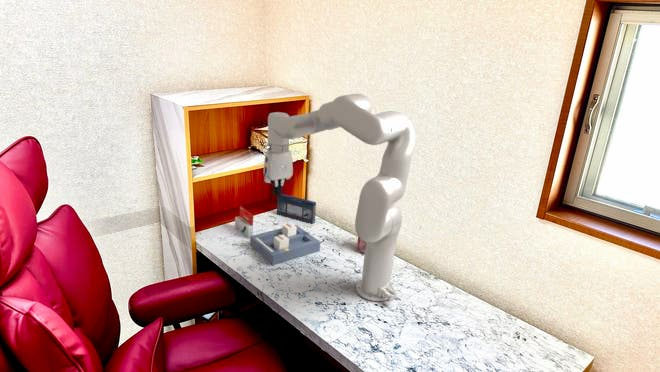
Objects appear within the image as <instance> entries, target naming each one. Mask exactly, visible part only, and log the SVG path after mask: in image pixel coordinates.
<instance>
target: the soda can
mask: <svg viewBox="0 0 660 372" xmlns="http://www.w3.org/2000/svg"><path fill="white" fill-rule="evenodd" d="M356 245H357V246H356V247H357V248H356V249H357V251H359V252H360V253H362V254H363V255H365V247H366V242H364V241H363V240H361V239H360V238H359V236H358V235H357V244H356Z"/></svg>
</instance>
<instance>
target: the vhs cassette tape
mask: <svg viewBox="0 0 660 372" xmlns="http://www.w3.org/2000/svg"><path fill="white" fill-rule="evenodd" d="M276 197H277V196H276ZM276 201H277V203H276V216H277V215H278V216H280V215H281V217H285V218H287V217H288V218H287V219H291V220H294V219H295V221H298V220H299V222H302V223H305V222H306V223H305V224H309V223H310V225H313V224H314V223H315V222H316V207H317V202H316V201H312V200H309V199H305V198H301V197H297V196H293V195H290V194H289V195H288V194H284V193H282V196H279V197H277V198H276Z"/></svg>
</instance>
